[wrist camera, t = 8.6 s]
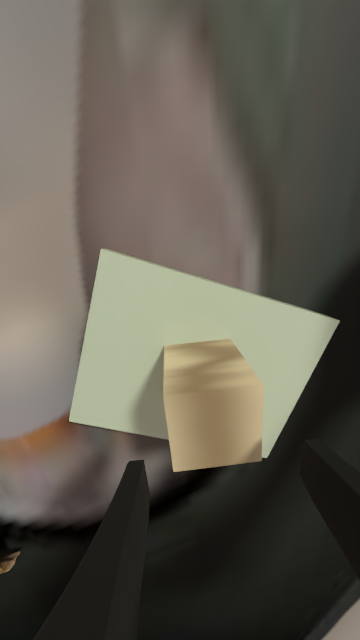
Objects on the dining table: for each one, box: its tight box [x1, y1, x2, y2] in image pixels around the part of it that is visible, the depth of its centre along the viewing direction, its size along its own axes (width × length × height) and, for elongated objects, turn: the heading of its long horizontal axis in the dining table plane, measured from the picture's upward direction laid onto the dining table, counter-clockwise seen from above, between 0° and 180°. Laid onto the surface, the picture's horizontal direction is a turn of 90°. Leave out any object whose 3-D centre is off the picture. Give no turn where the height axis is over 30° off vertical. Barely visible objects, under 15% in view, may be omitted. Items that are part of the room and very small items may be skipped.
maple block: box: [163, 339, 264, 472], centre depth 14 cm, size 5×5×6 cm
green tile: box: [69, 249, 340, 458], centre depth 18 cm, size 18×14×2 cm
